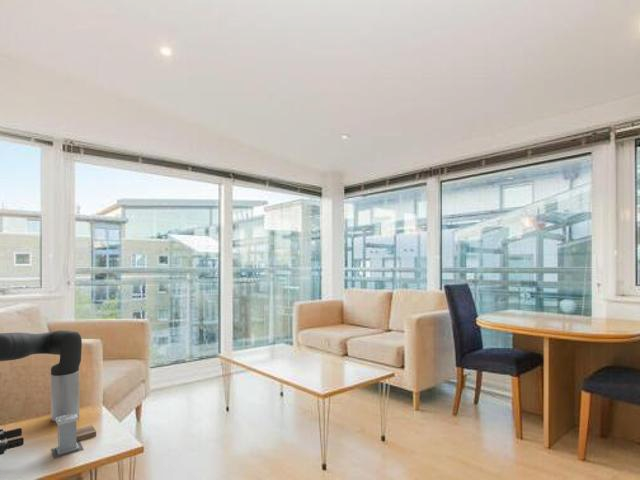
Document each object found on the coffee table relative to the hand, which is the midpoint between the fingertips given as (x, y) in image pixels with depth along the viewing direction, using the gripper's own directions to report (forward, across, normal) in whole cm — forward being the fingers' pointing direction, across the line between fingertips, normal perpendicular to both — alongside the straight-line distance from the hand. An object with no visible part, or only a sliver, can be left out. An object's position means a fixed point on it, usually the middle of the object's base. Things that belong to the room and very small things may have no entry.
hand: (22, 436), depth 120 cm
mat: (+12, 0, +9) cm, 14 cm away
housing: (+11, 0, +8) cm, 14 cm away
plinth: (+17, +8, +8) cm, 21 cm away
